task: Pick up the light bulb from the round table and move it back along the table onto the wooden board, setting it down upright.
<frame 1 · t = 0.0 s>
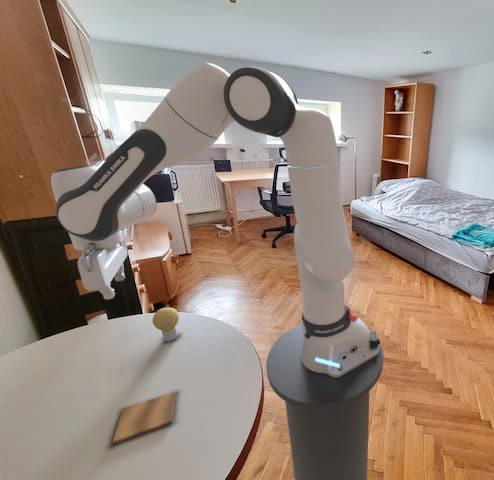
hand: (115, 288, 72), 21 cm above the table, tool pointing down, fingers open, 8 cm apart
wooden board: (147, 416, 62), on the table
light bulb: (171, 338, 86), on the table
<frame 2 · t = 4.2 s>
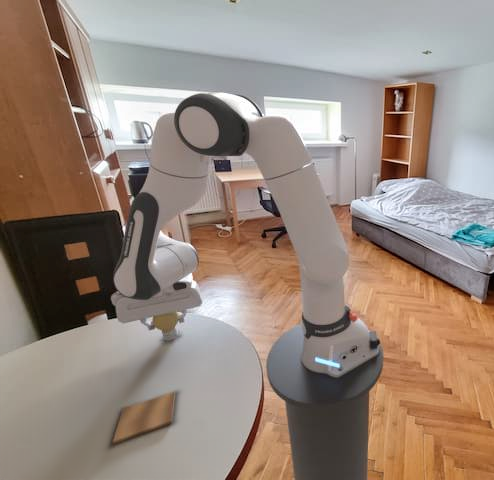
hand: (167, 325, 84), 5 cm above the table, tool pointing down, fingers closed on light bulb, 6 cm apart
light bulb: (171, 338, 86), on the table, touching gripper
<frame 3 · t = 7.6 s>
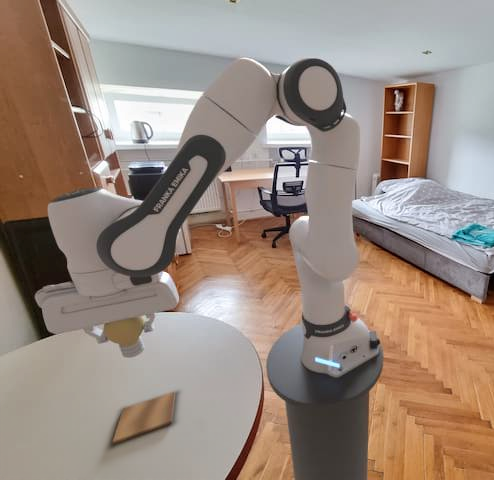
hand: (128, 335, 59), 19 cm above the table, tool pointing down, fingers closed on light bulb, 6 cm apart
light bulb: (134, 353, 60), point 14 cm above the table, touching gripper
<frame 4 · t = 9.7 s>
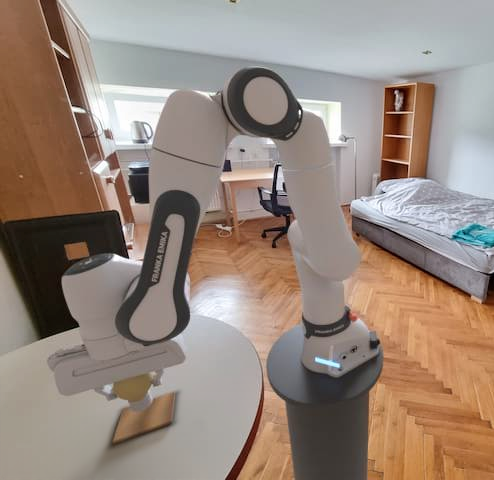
hand: (137, 390, 59), 8 cm above the table, tool pointing down, fingers closed on light bulb, 6 cm apart
light bulb: (143, 406, 61), point 3 cm above the table, touching gripper
when the fingers open (5 cm above the table, at t = 11.1 s): light bulb stays where it is, resting on wooden board.
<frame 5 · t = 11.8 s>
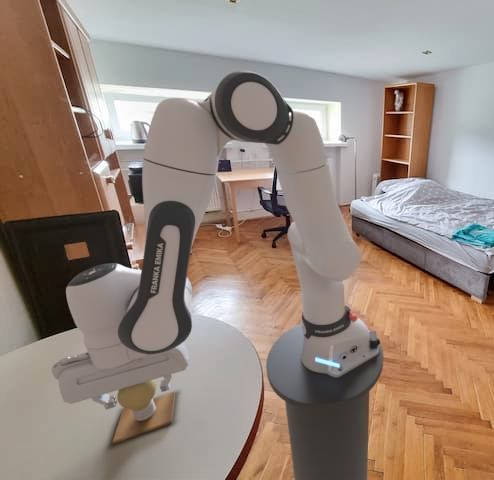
hand: (140, 396, 60), 6 cm above the table, tool pointing down, fingers open, 8 cm apart
light bulb: (146, 415, 62), resting on wooden board
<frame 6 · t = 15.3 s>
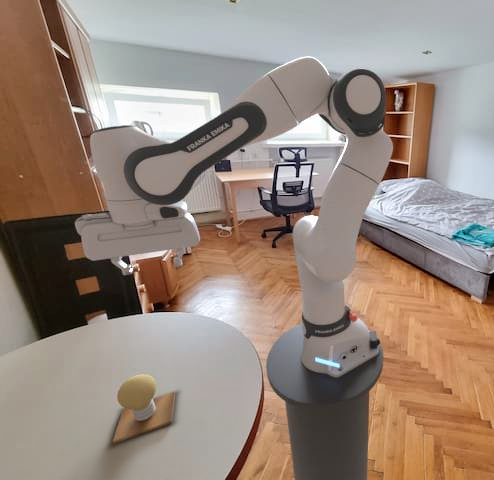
hand: (154, 269, 64), 29 cm above the table, tool pointing down, fingers open, 8 cm apart
nothing on the table moved.
at the end: light bulb 0.0 cm off-centre on the wooden board, point 0.4 cm above the wooden board's base; light bulb tilted 0°; the gripper is holding nothing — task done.
